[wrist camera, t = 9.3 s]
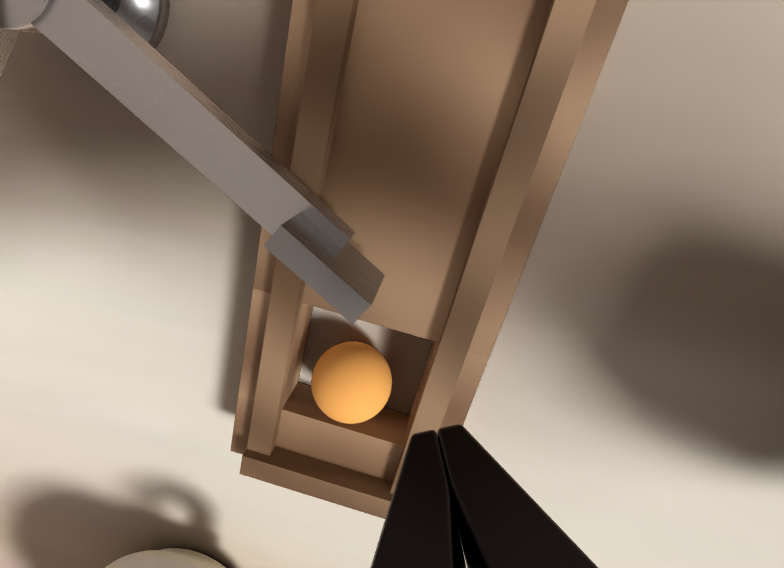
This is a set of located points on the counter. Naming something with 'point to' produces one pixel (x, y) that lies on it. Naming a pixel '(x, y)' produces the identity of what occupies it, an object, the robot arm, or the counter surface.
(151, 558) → the teacup
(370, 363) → the ball
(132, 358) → the counter surface
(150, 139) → the counter surface
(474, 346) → the lane
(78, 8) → the lever
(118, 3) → the pivot post
